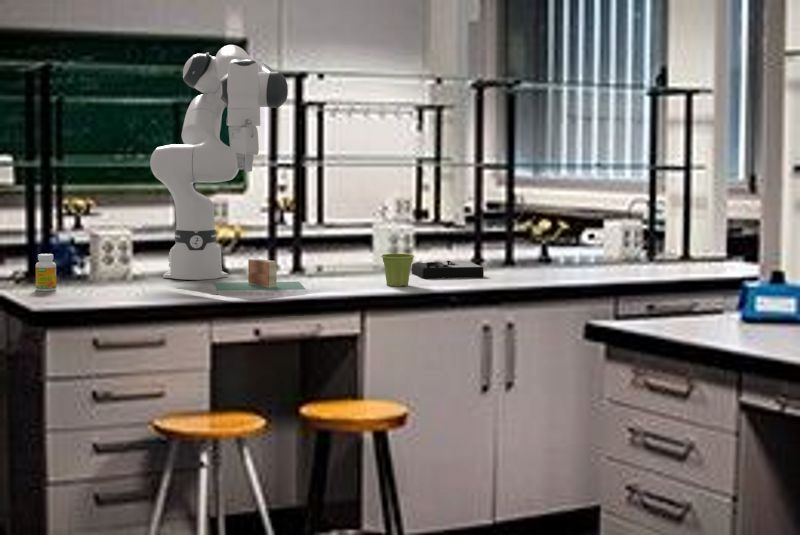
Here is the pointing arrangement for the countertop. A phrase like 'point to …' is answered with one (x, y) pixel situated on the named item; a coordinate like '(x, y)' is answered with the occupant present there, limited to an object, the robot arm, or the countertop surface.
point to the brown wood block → (262, 272)
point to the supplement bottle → (45, 273)
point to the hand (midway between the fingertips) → (244, 170)
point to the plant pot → (397, 268)
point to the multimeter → (447, 270)
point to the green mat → (253, 287)
